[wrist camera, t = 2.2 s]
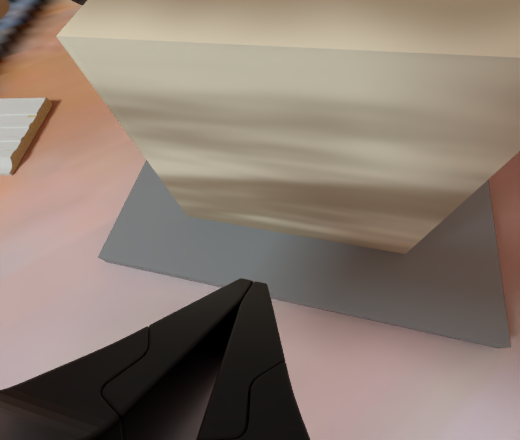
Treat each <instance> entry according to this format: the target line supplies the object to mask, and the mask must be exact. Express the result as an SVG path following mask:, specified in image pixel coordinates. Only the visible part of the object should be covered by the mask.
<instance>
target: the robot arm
mask: <svg viewBox="0 0 520 440" xmlns="http://www.w3.org/2000/svg"><path fill="white" fill-rule="evenodd" d="M0 440H310V438H309V435H308V433H307V430H306V427H305V425H304V422H303V420H302V417H301V414H300V411H299V408H298V405H297V402H296V399H295V397H294V393H293V390H292V386H291V382H290V379H289V375H288V370H287V366H286V363H285V358H284V354H283V349H282V345H281V341H280V336H279V332H278V328H277V323H276V319H275V315H274V310H273V306H272V302H271V297H270V293H269V289H268V285H267V284H266V283H262V282H258V281H255V282H253V281H252V280H248V279H243V278H240V279H238V280H236V281H234V282H232V283H230V284H228V285H226V286H224V287H222V288H220V289H219V290H217V291H215V292H213V293H211V294H209V295H207V296H205V297H203V298H201V299H199V300H197V301H195V302H193V303H191V304H190V305H188V306H186V307H184V308H182V309H180V310H178V311H176V312H174V313H172V314H170V315H168V316H166V317H164V318H163V319H161V320H159V321H157V322H155V323H153V324H151V325H150V326H149V327H145V328H143V329H141V330H139V331H137V332H135V333H133V334H131V335H129V336H127V337H125V338H123V339H121V340H119V341H117V342H115V343H113V344H111V345H108V346H106V347H104V348H102V349H99V350H97V351H95V352H93V353H90V354H88V355H86V356H84V357H81V358H79V359H77V360H74V361H72V362H69V363H67V364H65V365H62V366H60V367H58V368H55V369H53V370H51V371H48V372H46V373H44V374H41V375H39V376H37V377H34V378H32V379H29V380H27V381H25V382H22V383H20V384H17V385H15V386H12V387H10V388H6V389H3V390H0Z"/></svg>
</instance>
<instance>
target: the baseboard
mask: <svg viewBox="0 0 520 440" xmlns="http://www.w3.org/2000/svg"><path fill="white" fill-rule="evenodd" d="M52 105H53V104H52V103H51V102H50V101H49V100H48V99H47V98H7V99H0V175H13V173H14V172H15V170H16V168H17V166H18V165H19V163H20V161H21V159H22V158H23V156H24V154H25V152H26V151H27V149H28V147H29V146H30V144H31V142H32V140H33V139H34V137H35V135H36V133H37V132H38V130H39V128H40V126H41V125H42V123H43V121H44V119H45V118H46V116H47V114H48V112H49V111H50V109H51V107H52Z"/></svg>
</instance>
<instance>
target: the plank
mask: <svg viewBox="0 0 520 440" xmlns="http://www.w3.org/2000/svg"><path fill="white" fill-rule="evenodd" d="M57 38H58V39H59V41H60V42H61V43H62V45H63V46H64V47H65V49H66V50H67V52H68V53H69V54H70V56H71V57H72V58H73V60H74V61H75V63H76V64H77V65H78V67H79V68H80V69H81V71H82V72H83V73H84V75H85V76H86V78H87V79H88V80H89V82H90V83H91V84H92V86H93V87H94V89H95V90H96V91H97V93H98V94H99V95H100V97H101V98H102V100H103V101H104V102H105V104H106V105H107V106H108V108H109V109H110V110H111V112H112V113H113V115H114V116H115V117H116V119H117V120H118V121H119V123H120V124H121V126H122V127H123V128H124V130H125V131H126V132H127V134H128V135H129V137H130V138H131V139H132V141H133V142H134V143H135V145H136V146H137V148H138V149H139V150H140V152H141V153H142V154H143V156H144V157H145V158H146V160H147V161H148V163H149V164H150V165H151V167H152V168H153V169H154V171H155V172H156V174H157V175H158V176H159V178H160V179H161V180H162V182H163V183H164V185H165V186H166V187H167V189H168V190H169V191H170V193H171V194H172V195H173V197H174V198H175V200H176V201H177V202H178V204H179V205H180V206H181V208H182V209H183V211H184V212H185V213H186V215H187V216H188V217H194V218H200V219H206V220H211V221H217V222H223V223H229V224H234V225H240V226H246V227H252V228H257V229H263V230H269V231H275V232H280V233H286V234H292V235H298V236H303V237H309V238H315V239H321V240H326V241H332V242H338V243H344V244H349V245H355V246H361V247H367V248H372V249H378V250H384V251H390V252H396V253H401V254H406V253H407V252H408V251H409V250H410V249H412V248H413V247H414V246H415V245H416V244H417V243H418V242H419V241H420V240H422V239H423V238H424V237H425V236H426V235H427V234H428V233H429V232H430V231H432V230H433V229H434V228H435V227H436V226H437V225H438V224H439V223H440V222H442V221H443V220H444V219H445V218H446V217H447V216H448V215H449V214H450V213H452V212H453V211H454V210H455V209H456V208H457V207H458V206H459V205H460V204H462V203H463V202H464V201H465V200H466V199H467V198H468V197H469V196H471V195H472V194H473V193H474V192H475V191H476V190H477V189H478V188H479V187H481V186H482V185H483V184H484V183H485V182H486V181H487V180H488V179H489V178H491V177H492V176H493V175H494V174H495V173H496V172H497V171H498V170H499V169H501V168H502V167H503V166H504V165H505V164H506V163H507V162H508V161H509V160H511V159H512V158H513V157H514V156H515V155H516V154H517V153H518V152H519V151H520V0H87V1H86V2H85V4H84V5H83V6H82V7H81V8H80V9H79V10H78V12H77V13H76V14H75V15H74V16H73V17H72V19H71V20H70V21H69V22H68V23H67V24H66V25H65V27H64V28H63V29H62V30H61V31H60V32H59V34H58V35H57Z"/></svg>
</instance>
